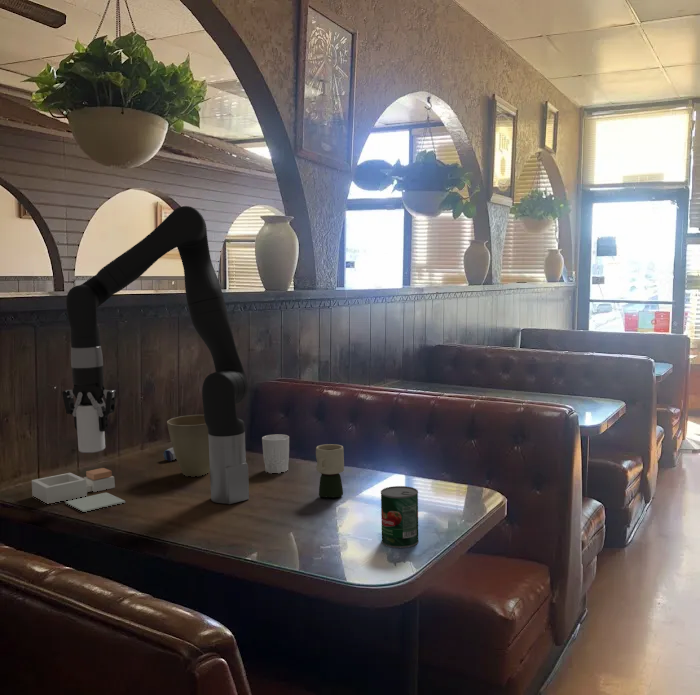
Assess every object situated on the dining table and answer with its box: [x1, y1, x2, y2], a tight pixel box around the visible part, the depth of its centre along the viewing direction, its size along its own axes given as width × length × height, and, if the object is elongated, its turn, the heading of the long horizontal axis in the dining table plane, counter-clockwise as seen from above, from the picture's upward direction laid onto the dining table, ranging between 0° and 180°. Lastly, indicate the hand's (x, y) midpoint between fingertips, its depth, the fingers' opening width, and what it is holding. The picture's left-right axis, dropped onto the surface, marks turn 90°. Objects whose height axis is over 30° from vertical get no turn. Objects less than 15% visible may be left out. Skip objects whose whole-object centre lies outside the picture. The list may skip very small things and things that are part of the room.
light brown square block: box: [85, 467, 113, 480], centre depth 207 cm, size 5×5×4 cm
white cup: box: [261, 433, 290, 474], centre depth 220 cm, size 8×8×10 cm
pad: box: [64, 492, 126, 513], centre depth 193 cm, size 11×11×1 cm
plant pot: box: [166, 414, 210, 478], centre depth 218 cm, size 15×15×16 cm
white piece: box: [31, 472, 116, 504], centre depth 202 cm, size 10×19×4 cm, turn 132°
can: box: [76, 403, 106, 454], centre depth 191 cm, size 6×6×12 cm
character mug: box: [315, 443, 345, 499], centre depth 193 cm, size 11×7×13 cm, turn 152°
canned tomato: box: [380, 485, 419, 549], centre depth 160 cm, size 8×8×11 cm
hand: (91, 430), depth 191 cm, fingers closed on can, 6 cm apart
